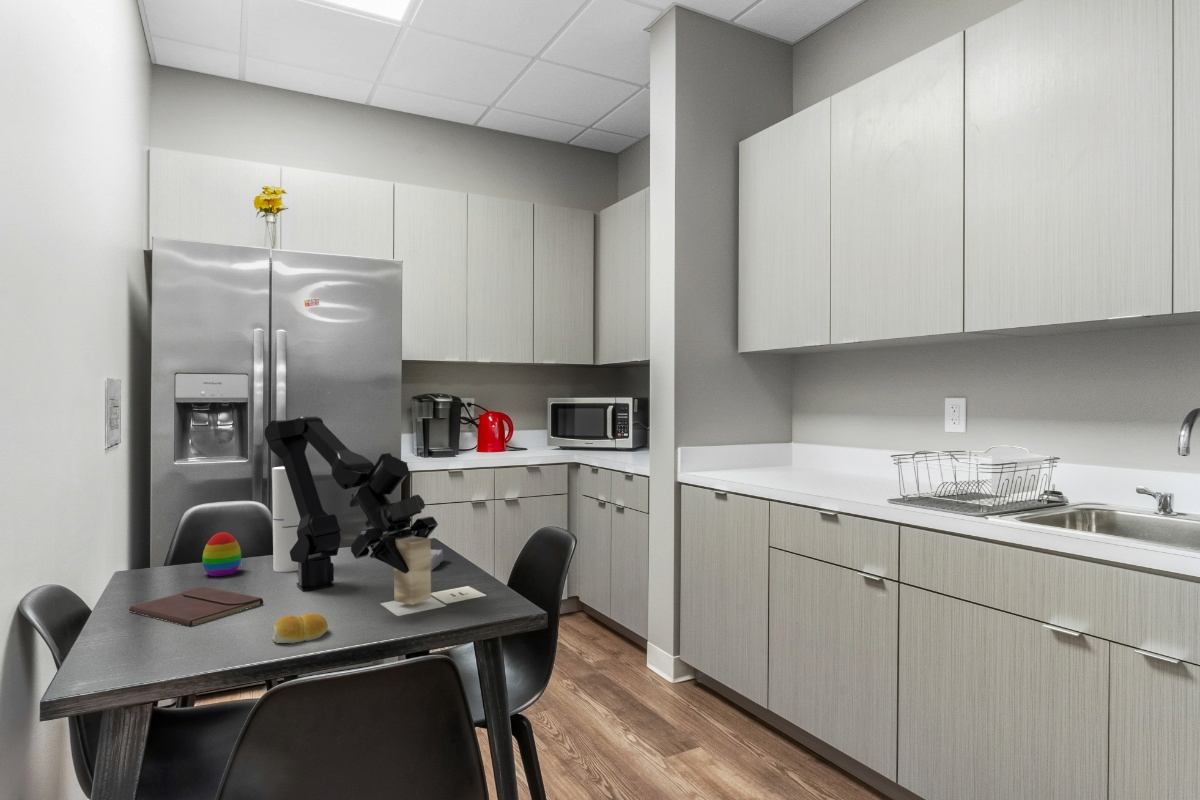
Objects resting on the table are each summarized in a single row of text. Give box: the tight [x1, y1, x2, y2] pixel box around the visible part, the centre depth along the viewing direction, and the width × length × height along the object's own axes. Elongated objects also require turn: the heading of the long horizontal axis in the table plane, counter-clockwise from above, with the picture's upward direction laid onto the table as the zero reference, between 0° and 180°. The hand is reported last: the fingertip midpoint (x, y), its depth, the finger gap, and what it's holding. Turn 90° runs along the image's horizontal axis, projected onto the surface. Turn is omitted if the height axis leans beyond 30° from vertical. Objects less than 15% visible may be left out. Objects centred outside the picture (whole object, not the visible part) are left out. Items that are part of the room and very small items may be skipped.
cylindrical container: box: [271, 466, 300, 573], centre depth 166 cm, size 7×7×25 cm
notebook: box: [128, 586, 264, 628], centre depth 134 cm, size 15×20×2 cm
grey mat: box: [379, 596, 447, 617], centre depth 134 cm, size 10×10×1 cm
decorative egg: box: [202, 531, 242, 577], centre depth 161 cm, size 8×8×10 cm
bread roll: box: [271, 612, 329, 644], centre depth 118 cm, size 8×9×4 cm
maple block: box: [393, 536, 432, 605], centre depth 134 cm, size 5×5×12 cm
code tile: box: [431, 585, 487, 605], centre depth 141 cm, size 9×9×1 cm
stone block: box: [431, 549, 444, 572], centre depth 166 cm, size 12×5×10 cm
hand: (417, 569), depth 133 cm, fingers closed on maple block, 5 cm apart
